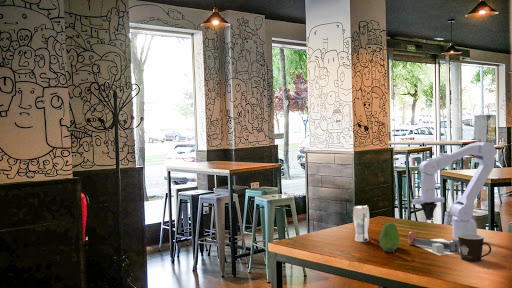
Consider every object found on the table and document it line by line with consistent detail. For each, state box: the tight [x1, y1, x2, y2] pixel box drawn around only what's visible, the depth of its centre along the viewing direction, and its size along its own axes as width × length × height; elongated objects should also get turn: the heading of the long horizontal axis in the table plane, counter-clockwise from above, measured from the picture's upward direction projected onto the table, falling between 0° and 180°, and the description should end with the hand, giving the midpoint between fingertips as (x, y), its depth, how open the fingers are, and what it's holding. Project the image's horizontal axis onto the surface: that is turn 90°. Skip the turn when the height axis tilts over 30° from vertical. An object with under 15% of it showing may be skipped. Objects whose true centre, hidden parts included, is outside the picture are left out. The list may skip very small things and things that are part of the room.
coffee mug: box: [457, 233, 492, 263], centre depth 177 cm, size 12×9×10 cm
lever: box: [408, 231, 460, 252], centre depth 195 cm, size 21×4×5 cm, turn 46°
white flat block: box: [415, 238, 460, 256], centre depth 197 cm, size 16×22×4 cm
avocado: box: [378, 222, 400, 253], centre depth 197 cm, size 8×8×12 cm
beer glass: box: [352, 205, 370, 243], centre depth 217 cm, size 7×7×15 cm
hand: (428, 219), depth 212 cm, fingers closed
